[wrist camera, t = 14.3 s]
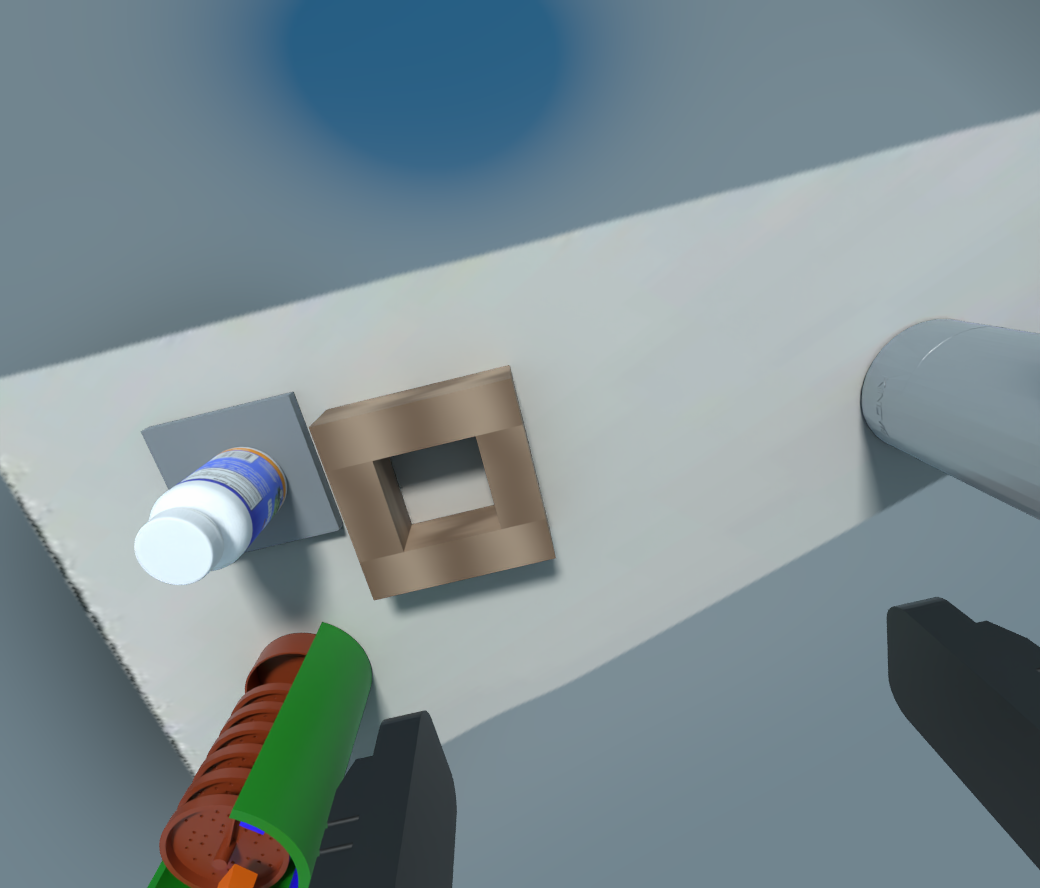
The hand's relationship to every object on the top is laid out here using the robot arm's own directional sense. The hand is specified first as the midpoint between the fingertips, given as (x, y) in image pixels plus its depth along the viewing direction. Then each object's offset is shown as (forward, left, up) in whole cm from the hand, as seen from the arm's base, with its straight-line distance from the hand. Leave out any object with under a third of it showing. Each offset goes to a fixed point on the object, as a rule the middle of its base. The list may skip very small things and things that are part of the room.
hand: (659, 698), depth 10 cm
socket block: (+8, +6, -30) cm, 32 cm away
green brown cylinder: (+23, +20, -30) cm, 43 cm away
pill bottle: (+21, +3, -29) cm, 36 cm away
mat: (+21, +3, -30) cm, 37 cm away
